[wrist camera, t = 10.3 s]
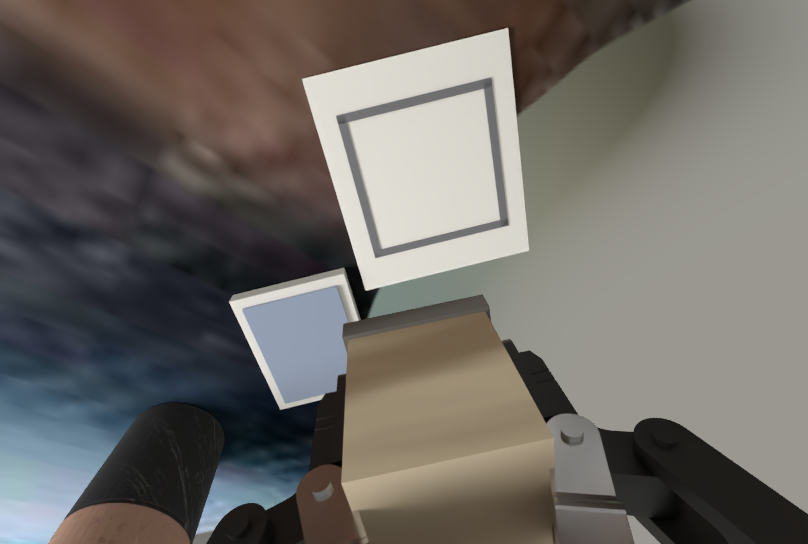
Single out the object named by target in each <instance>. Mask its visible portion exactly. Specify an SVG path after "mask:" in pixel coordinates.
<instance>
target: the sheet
mask: <svg viewBox="0 0 808 544" xmlns="http://www.w3.org/2000/svg"><path fill="white" fill-rule="evenodd" d="M302 81H303V84H304V88H305V91H306V94H307V98H308V101H309V104H310V108H311V111H312V114H313V118H314V121H315V124H316V128H317V131H318V134H319V138H320V141H321V144H322V148H323V151H324V154H325V158H326V161H327V164H328V167H329V171H330V174H331V177H332V181H333V184H334V187H335V191H336V194H337V197H338V201H339V204H340V207H341V211H342V214H343V217H344V221H345V224H346V227H347V231H348V234H349V237H350V241H351V244H352V247H353V251H354V254H355V257H356V261H357V264H358V267H359V271H360V274H361V277H362V281H363V284H364V287H365V291H367V290H371V289H375V288H379V287H383V286H387V285H391V284H395V283H399V282H403V281H407V280H411V279H415V278H420V277H423V276H428V275H432V274H436V273H440V272H444V271H448V270H452V269H456V268H460V267H464V266H468V265H472V264H477V263H481V262H484V261H489V260H493V259H497V258H501V257H505V256H509V255H513V254H517V253H521V252H525V251H529V242H528V232H527V221H526V211H525V200H524V190H523V180H522V169H521V158H520V148H519V137H518V128H517V116H516V105H515V95H514V84H513V74H512V63H511V53H510V42H509V32H508V28H506V29H502V30H498V31H494V32H490V33H486V34H481V35H477V36H473V37H469V38H465V39H461V40H457V41H453V42H449V43H445V44H441V45H437V46H433V47H429V48H425V49H421V50H417V51H413V52H409V53H405V54H401V55H397V56H393V57H389V58H385V59H381V60H377V61H373V62H369V63H365V64H360V65H356V66H352V67H348V68H344V69H340V70H336V71H332V72H328V73H324V74H320V75H316V76H312V77H308V78H304V79H302Z"/></svg>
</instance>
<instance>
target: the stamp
mask: <svg viewBox="0 0 808 544" xmlns="http://www.w3.org/2000/svg"><path fill="white" fill-rule="evenodd" d="M342 338H343V342H344V345H345V348H346V351H347V371H346V392H345V414H344V435H343V457H342V478H341V484H342V487H343V489H344V492H345V495H346V497H347V500H348V503H349V505H350V508H351V511H357V510H358V511H359V514H360V517H361V520H362V522H363V525H364V528H365V531H366V534H367V537H368V539H369V542H370V544H553V539H552V525H553V524H554V516H553V506H552V497H551V488H550V474H549V469H552V468H555V457H554V437H553V435H552V433H551V432H550V430H549V428H548V426H547V424H546V422H545V421H544V419H543V417H542V415H541V413H540V411H539V410H538V408H537V406H536V404H535V402H534V400H533V398H532V397H531V395H530V393H529V391H528V389H527V387H526V386H525V384H524V382H523V380H522V378H521V376H520V375H519V373H518V371H517V369H516V367H515V365H514V364H513V362H512V360H511V358H510V356H509V354H508V352H507V351H506V349H505V347H504V345H503V343H502V341H501V340H500V338H499V336H498V334H497V332H496V330H495V329H494V327H493V325H492V323H491V318H490V309H489V305H488V304H487V302H486V300H485V298H484V297H483V295H478V296H473V297H469V298H464V299H459V300H454V301H449V302H445V303H440V304H435V305H430V306H425V307H421V308H416V309H411V310H406V311H402V312H397V313H392V314H387V315H383V316H378V317H373V318H368V319H364V320H359V321H354V322H349V323H345V324H343V333H342Z"/></svg>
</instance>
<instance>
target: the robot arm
mask: <svg viewBox="0 0 808 544" xmlns="http://www.w3.org/2000/svg"><path fill="white" fill-rule="evenodd" d="M502 343H503V345H504V347H505V349H506V351H507V352H508V354H509V356H510V358H511V360H512V362H513V364H514V365H515V367H516V369H517V371H518V373H519V375H520V376H521V378H522V380H523V382H524V384H525V386H526V387H527V389H528V391H529V393H530V395H531V397H532V398H533V400H534V402H535V404H536V406H537V408H538V410H539V411H540V413H541V415H542V417H543V419H544V421H545V422H546V424H547V426H548V428H549V430H550V432H551V433H552V435H553V437H554V457H555V468H552V469H549V474H550V488H551V497H552V506H553V516H554V524H553V525H552V539H553V544H634V540H633V536H632V533H631V529H630V526H629V522H628V518H627V515H631V516H634V517H635V518H636V519H637V520H638V521H639V522H640V523H641V524H642V525H643V526H644V527H645V528H646V529H647V530H648V531H649V532H650V533H651V534H652V535H653V536H654V537H655V538H656V539H657V540H658V541H659V542H660V543H661V544H808V514H807V513H805V512H804V511H803V510H801V509H799V508H798V507H797V506H795V505H794V504H793V503H791V502H790V501H788V500H787V499H785V498H784V497H783V496H781V495H780V494H778V493H777V492H776V491H774V490H773V489H771V488H770V487H768V486H767V485H766V484H764V483H763V482H761V481H759V480H758V479H757V478H756V477H754V476H753V475H751V474H750V473H748V472H747V471H746V470H744V469H743V468H741V467H740V466H739V465H737V464H736V463H734V462H733V461H731V460H730V459H728V458H727V457H726V456H724V455H723V454H722V453H720V452H719V451H717V450H716V449H714V448H713V447H712V446H710V445H709V444H707V443H706V442H704V441H703V440H702V439H700V438H699V437H697V436H696V435H694V434H693V433H692V432H690V431H689V430H687V429H686V428H684V427H683V426H681V425H680V424H678V423H675V422H673V421H670V420H667V419H662V418H649V419H645V420H642V421H640V422H639V423H638V424H637V425H636V426H635V428H634V432H623V431H610V430H604V429H600V428H597V427H596V426H595V425H594V424H593V423H592V422H591V421H589V420H588V419H586V418H584V417H582V416H579V415H578V414H577V412H576V411H575V409H574V408H573V406H572V404H571V403H570V401H569V400H568V398H567V397H566V395H565V394H564V392H563V391H562V389H561V388H560V386H559V385H558V383H557V381H555V379H554V377H553V375H552V374H551V372H549V369H548V368H547V366H546V365H545V363H544V362H543V360H542V359H541V358H540V357H538V356H537V355H535V354H534V353H532V352H531V351H525V352H520V353H519V352H518V351H517V349H516V347H515V345H514V344H513V342H512V341H511V340H510V339H508V340H503V341H502ZM345 392H346V374H341V375H338V378H337V391H335V392H330V393H326V394H325V395H324V396H323V398H322V400H321V401H320V403H319V405H318V407H317V415H316V422H315V432H314V438H313V446H312V453H311V461H310V469H309V472H308V473H307V474H306V475H305V476H304V477H303V479H302V480H301V481H300V483H299V485H298V487H297V491H296V493H295V494H294V495H293V496H291V497H290V498H288V499H287V500H285V501H283V502H281V503H279V504H277V505H275V506H274V507H272V508H270V509H268V510H266V511H265V509H264V508H263V507H262V506H261V505H259V504H256V503H247V504H243V505H240V506H238V507H236V508H235V509H233V510H231V511H230V512H229V513H228V514H226V515H225V516H224V517H223V518H222V520H221V521H220V522H219V523H218V525H217V526H216V528H215V530H214V532H213V533H212V535H211V537H210V538H209V540H208V542H207V544H370V542H369V539H368V537H367V534H366V531H365V528H364V525H363V522H362V520H361V517H360V514H359V511H358V510H357V511H351V508H350V505H349V503H348V500H347V497H346V495H345V492H344V489H343V487H342V484H341V478H342V457H343V435H344V414H345Z"/></svg>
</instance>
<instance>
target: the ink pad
mask: <svg viewBox="0 0 808 544" xmlns="http://www.w3.org/2000/svg"><path fill="white" fill-rule="evenodd" d="M229 303H230V305H231V307H232V309H233V311H234V313H235V315H236V317H237V320H238V322H239V324H240V326H241V328H242V330H243V332H244V334H245V336H246V338H247V341H248V343H249V345H250V347H251V349H252V351H253V353H254V355H255V357H256V360H257V362H258V364H259V366H260V368H261V370H262V372H263V374H264V376H265V378H266V381H267V383H268V385H269V387H270V389H271V391H272V393H273V395H274V397H275V400H276V402H277V404H278V406H279V408H280V410H281V409H285V408H290V407H294V406H298V405H302V404H306V403H310V402H314V401H318V400H322V398H323V396H324V395H325V394H326V393H330V392H335V391H337V378H338V375H341V374H346V371H347V351H346V348H345V345H344V342H343V338H342V333H343V324H345V323H349V322H354V321H359V320H361V319H360V316H359V313H358V309H357V306H356V303H355V300H354V297H353V294H352V291H351V287H350V284H349V281H348V278H347V275H346V272H345V269H344V268H341V269H337V270H333V271H329V272H325V273H321V274H317V275H312V276H308V277H304V278H300V279H296V280H292V281H288V282H284V283H280V284H276V285H272V286H268V287H264V288H260V289H256V290H251V291H247V292H243V293H239V294H235V295H233V296H232V298H231V300H230V301H229Z"/></svg>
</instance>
